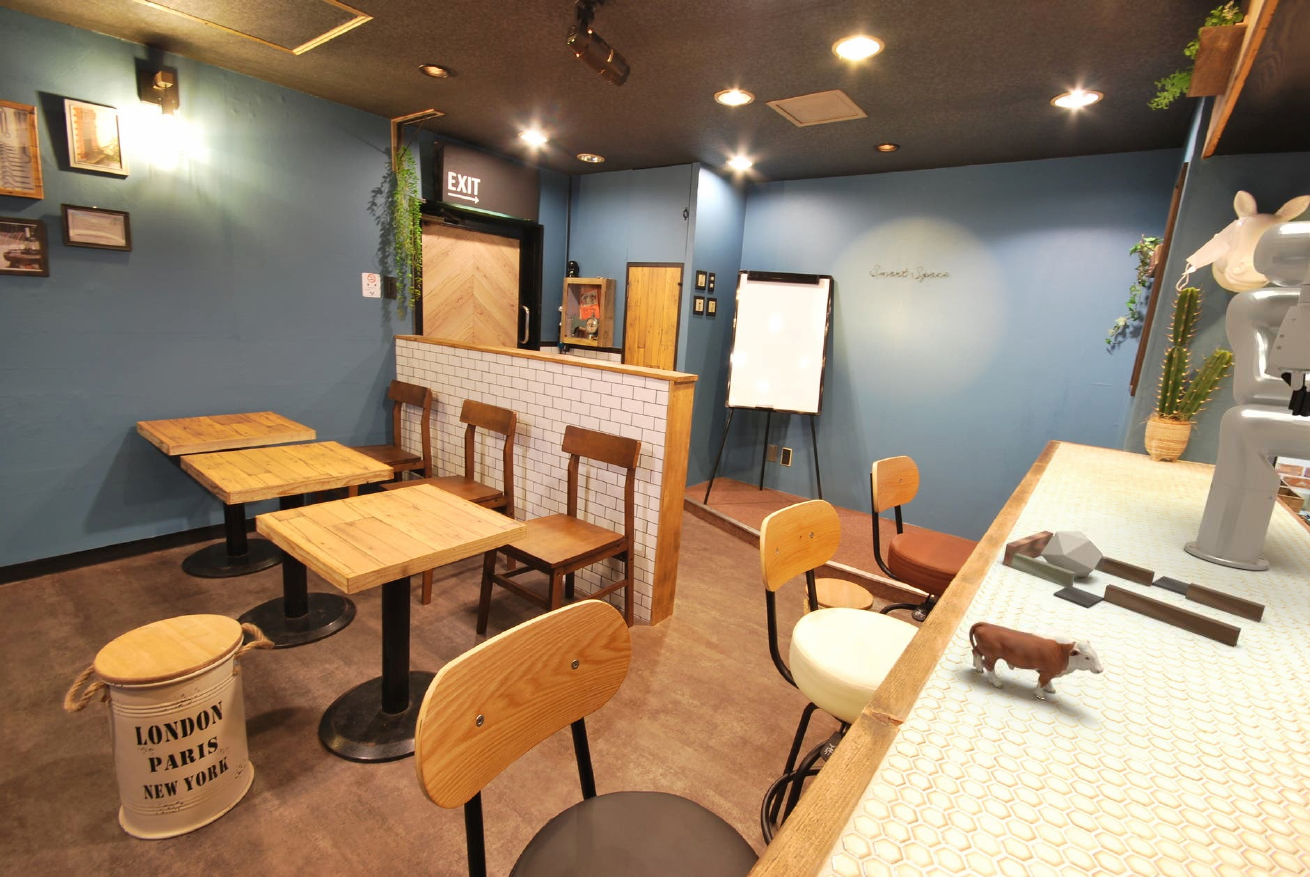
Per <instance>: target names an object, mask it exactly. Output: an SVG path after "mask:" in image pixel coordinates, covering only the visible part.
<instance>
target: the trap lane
mask: <svg viewBox="0 0 1310 877" xmlns="http://www.w3.org/2000/svg"><path fill="white" fill-rule="evenodd" d="M1054 534H1055V533H1054V532H1051V531H1049V530H1048V531H1047V530H1043V531H1040V532H1038V533H1034V534H1031V535H1029V536H1025V537H1023V538H1020V539H1016V540H1014V541H1010V542H1008V543H1006V544H1005V545H1006V546H1005V551H1004V555H1003V556H1004V557H1003V559H1002V560H1003V562H1002V565H1004V566H1007V567H1009V568H1012V569H1016V570H1019V571H1021V572H1023V573H1026V572H1027V573H1026V574H1029V573H1031V574H1030V575H1032V576H1035V575H1036V576H1035V577H1038V578H1040V579H1044V580H1046V581H1049V582H1052V583H1055V584H1058V585H1060V586H1063V587H1064V588H1062V589H1060V590H1057V591H1055V592H1053V596H1054V597H1056V598H1060V599H1062V600H1064V601H1067V602H1071V603H1074V604H1076V605H1078V606H1082V607H1084V608H1086V609H1089V608H1092V607H1093V606H1094V605H1096V604H1098V603H1100V602H1102V601H1105V602H1108V603H1110V604H1114V605H1115V606H1119V607H1121V608H1124V609H1126V610H1127V609H1128V610H1129V611H1133V612H1136V613H1139V614H1140V615H1141V614H1142V615H1145V616H1147V617H1150V618H1152V619H1155V620H1158V621H1161V622H1164V623H1167V624H1169V625H1172V626H1175V627H1178V628H1181V629H1183V630H1186V631H1188V632H1192V633H1194V634H1197V635H1199V636H1202V637H1206V638H1207V639H1208V638H1209V639H1212V640H1214V641H1216V642H1220V643H1222V644H1226V645H1228V646H1231V647H1235V646H1236V645H1237V644H1238V641H1239V637H1240V634H1241V631H1242V628H1241V627H1238V626H1235V625H1232V624H1230V623H1227V622H1223V621H1220V620H1219V619H1218V620H1217V619H1215V618H1212V617H1208V616H1206V615H1203V614H1200V613H1197V612H1194V611H1191V610H1188V609H1185V608H1182V607H1179V606H1176V605H1173V604H1171V603H1167V602H1165V601H1162V600H1158V599H1155V598H1153V597H1150V596H1147V595H1144V594H1141V593H1137V592H1135V591H1132V590H1129V589H1125V588H1123V587H1120V586H1117V585H1114V584H1111V583H1110V584H1108V585H1106V586H1105V590H1104V594H1103V596H1100V595H1097V594H1094V593H1091V592H1089V591H1085V590H1082V589H1080V588H1077V587H1075V586H1074V582H1075V578H1076V577H1075V572H1073V571H1070V570H1067V569H1064V568H1061V567H1058V566H1055V565H1052V564H1049V563H1048V562H1047V561H1046V562H1045V561H1043V560H1039V559H1036V558H1037V557H1040V556H1041V557H1042V555H1041V552H1042V551H1043V550H1044V548H1045V547H1046V545H1047V544H1048V543H1049V541H1050V540H1051V539H1052V537H1053V536H1054ZM1094 570H1097V571H1100V572H1103V573H1106V574H1109V575H1112V576H1116V577H1119V578H1122V579H1125V580H1127V581H1131V582H1133V583H1137V584H1139V585H1143V586H1147V587H1150V586H1155V587H1157V588H1160V589H1164V590H1167V591H1170V592H1172V593H1176V594H1180V595H1182V596H1185V599H1186V600H1190V601H1191V602H1192V601H1193V602H1195V603H1198V604H1200V605H1201V604H1202V605H1205V606H1208V607H1210V608H1214V609H1217V610H1219V611H1223V612H1226V613H1230V614H1232V615H1235V616H1239V617H1241V618H1245V619H1248V620H1251V621H1253V622H1257V623H1260V622H1261V621H1262V618H1263V616H1264V611H1265V608H1266V605H1264V604H1263V603H1262V604H1261V603H1258V602H1256V601H1252V600H1250V599H1249V600H1248V599H1245V598H1243V597H1240V596H1239V597H1238V596H1236V595H1233V594H1229V593H1226V592H1224V591H1223V592H1222V591H1219V590H1217V589H1213V588H1209V587H1207V586H1202V585H1200V584H1196V583H1194V582H1191V583H1188V582H1184V581H1181V580H1178V579H1175V578H1172V577H1168V576H1166V575H1164V576H1162V577H1159V578H1157V579H1156V580H1154V577H1155V573H1156V571H1153V570H1150V569H1148V568H1144V567H1141V566H1137V565H1134V564H1133V563H1128V562H1126V561H1125V562H1124V561H1122V560H1118V559H1115V558H1112V557H1108V556H1105V555H1102V557H1101V559H1100V560H1099V562H1098V564H1097V565H1096V567H1095V568H1094Z"/></svg>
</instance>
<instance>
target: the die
mask: <svg viewBox="0 0 1310 877" xmlns="http://www.w3.org/2000/svg"><path fill="white" fill-rule="evenodd" d="M1102 556H1104V553H1103V552H1102V551H1101V550H1100V549H1099V548H1098V547H1097V546H1096V545H1095V544H1094V542H1092V541H1091V539H1090V538H1088V537H1087V535H1085V534H1084V533H1083V532H1082V531H1080V530H1078V531H1077V530H1076V531H1075V530H1071V531H1066V530H1065V531H1062V530H1061V531H1055V533H1054V534H1053V537H1052V539H1051V540H1050V541H1049V543H1048V544H1047V545H1046V547H1045V548H1044V550H1043V551H1042V552H1041V557H1042V558H1044V560H1045V561H1046V563H1049V564H1052V565H1055V566H1058V567H1061V568H1064V569H1067V570H1070V571H1073V572H1075V578H1086V577H1088V576H1089V575H1090V574H1091V573H1092V572H1094V570H1095V569H1094V568H1095V567H1096V565H1097V564H1098V562H1099V560H1100V559H1101V557H1102Z"/></svg>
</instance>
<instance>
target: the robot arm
mask: <svg viewBox="0 0 1310 877" xmlns="http://www.w3.org/2000/svg"><path fill="white" fill-rule="evenodd" d="M1254 248H1255V249H1254V251H1253V257H1252V258H1253V259H1252V260H1253V261H1252V262H1253V267H1254V270H1255V271H1256V272H1257V273H1259V274H1260V275H1264V277H1265V278H1266V280H1267V281H1269V282H1270V283H1272V284H1273V285H1276V286H1277V287H1271V286H1270V287H1257V288H1250V289H1247V290H1243V291H1241V292H1239V293H1237V294H1235V295H1234V296H1233V297H1232V298H1231V300H1230V301H1229V304H1228V305H1227V309H1226V313H1225V314H1226V315H1225V332H1226V337H1227V340H1228V342H1229V345H1230V347H1231V350H1232V352H1233V354H1234V371H1233V383H1232V384H1233V385H1232V394H1233V399H1234V400H1233V401H1234V402H1235V404H1237V405H1235V406H1233V407H1231V408H1229V409H1227V410H1226V411H1225V412H1224V413H1223V415H1222V417H1221V420H1220V424H1219V437H1218V438H1219V439H1218V452H1217V457H1216V463H1215V467H1214V471H1213V476H1212V478H1211V479H1212V480H1211V483H1210V486H1209V487H1210V488H1209V491H1208V494H1207V498H1206V502H1205V505H1204V509H1203V512H1202V518H1201V522H1200V525H1199V527H1198V528H1199V529H1198V533H1197V537H1196V540H1192V541H1191V540H1190V541H1186V542H1185V543H1184V547H1183V548H1184V550H1185V551H1186V552H1187V553H1189V554H1190V555H1193V556H1195V557H1197V558H1200V559H1203V560H1206V561H1209V562H1211V563H1214V564H1219V565H1223V566H1226V567H1230V568H1231V567H1232V568H1236V569H1237V568H1238V569H1241V570H1250V571H1265V570H1268V569H1269V568H1270V567H1269V566H1270V561H1268V560H1267V559H1266V558H1265V557H1262V556H1261V554H1262V550H1263V547H1264V543H1265V540H1266V536H1267V533H1268V529H1269V525H1270V523H1271V519H1272V516H1273V512H1274V508H1275V504H1276V502H1277V497H1278V495H1279V491H1280V487H1281V481H1282V480H1281V476H1280V474H1279V472H1278V470H1277V469H1276V468H1275V467H1274V465H1273V464H1272V463H1271V462H1270V461H1269V459H1268V458H1269V457H1277V458H1287V459H1294V460H1295V459H1296V460H1301V461H1310V220H1304V221H1303V220H1300V221H1299V220H1297V221H1295V220H1294V221H1285V222H1279V223H1276V224H1273V225H1272V226H1270V227H1269V228H1267V229H1266V230H1265V232H1263V233H1262V234H1261V235H1260V237H1259V239H1258V241H1257V243H1256V246H1255V247H1254ZM1278 286H1279V287H1278ZM1272 330H1278V332H1277V334H1276V333H1275V332H1273V331H1272Z"/></svg>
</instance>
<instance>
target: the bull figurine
mask: <svg viewBox="0 0 1310 877" xmlns="http://www.w3.org/2000/svg"><path fill="white" fill-rule="evenodd" d="M968 636H969V642H970V645H971V647H972V649H971V653H972V657H973V660H972V661H973V662H972V666H973V667H974V668H975V670H976V672H978V673H984V669H985V670H986V672H987V674H988V680H989V683H993V686H994V687H996V688H999V689H1002V688H1003V687H1004V685H1003V682H1001V680H1000V679H999V677H998V676H997V674H996V670H995V667H996V663H997V661H998V660H1003V661H1004V662H1005V663H1006V665H1007V666H1008V669H1009V670H1010V671H1011V670H1012V671H1014V670H1015V668H1016V669H1020V670H1028V671H1029V670H1030V671H1035V672H1036V673H1038V674H1039V676H1038V678H1037V684H1036V686H1035V688H1033V690H1032V694H1034V695H1035V696H1036V697H1037V696H1038V697H1040V698H1044V697H1045V694H1044V690H1043V689H1045V690H1046V691H1047V690H1048V691H1050V692H1056V693H1057V691H1056V690H1057V689H1055V687H1054V686H1053V682H1052V680H1053V679H1057V678H1062V677H1064V676H1066V675H1069V674H1073V673H1074V672H1075V671H1076V670H1078V671H1082V672H1084V671H1089V672H1090V673H1092V674H1094V675H1098V674H1102V673H1103V672H1104V667H1103V666H1102V665H1101V662H1100V660H1099V657H1098V653H1097V652H1096V650H1095V649H1094V648H1093V646H1091V643H1090V640H1082V641H1080V642H1077V641H1075V640H1074V639H1072V638H1070V637H1068V636H1064V635H1049V634H1044V633H1041V634H1040V633H1032V632H1031V633H1029V632H1024V631H1021V630H1016V629H1012V628H1009V627H1005V626H1001V625H998V624H997V625H996V624H993V623H990V622H989V623H988V622H987V621H985V622H984V621H979V622H975V623H973V624H972V625H971V627H970V628H969V633H968ZM975 643H976V645H975ZM1048 691H1047V692H1048ZM1050 692H1049V693H1050ZM1045 698H1046V697H1045Z"/></svg>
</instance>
